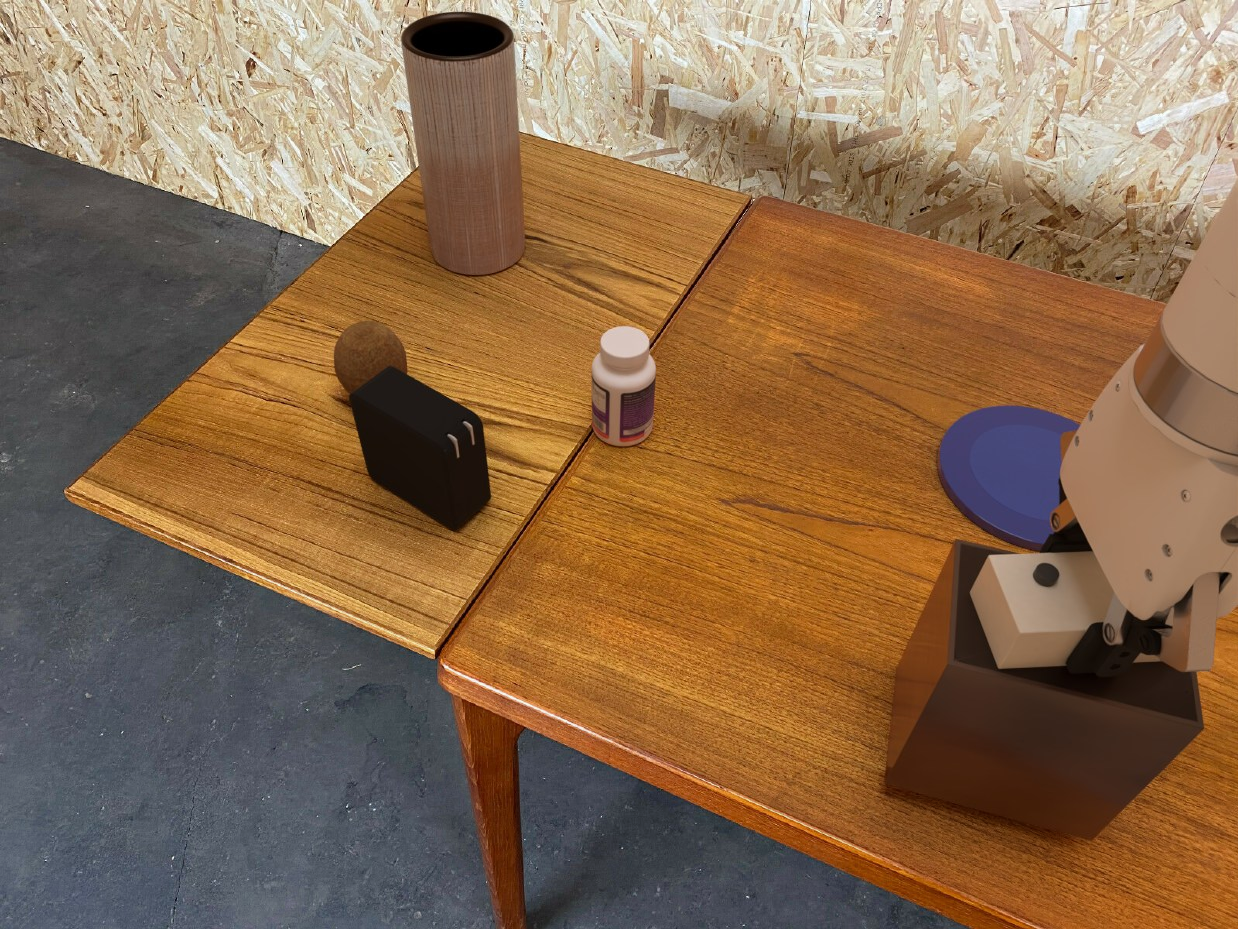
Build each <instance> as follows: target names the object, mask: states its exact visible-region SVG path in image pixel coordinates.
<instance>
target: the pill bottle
mask: <svg viewBox="0 0 1238 929" xmlns="http://www.w3.org/2000/svg"><path fill="white" fill-rule="evenodd" d="M590 374H591V380H590V381H591V426H592V430H593V432H594V434H595V435H596V437H597V438H598V439H600V440H601V441H602V442H604V443H606V444H609V445H611V446H614V447H615V446H616V447H630V446H635V445H637V444H639V443H642V442H643V441H645V440H646V439H647V438H648V437H649V436H650V434H651V433H652V430H653V427H654V416H655V414H654V413H655V396H656V395H655V394H656V381H657V380H656V378H657V366H656V362H655V360H654V358H653V356H652V355H651V353H650V339H649V337H648V335H647V334H646V333H645V332H644V331H643V330H642V329H639V328H637V327H633V326H629V325H623V326H622V325H621V326H615V327H612V328H610V329H607V330H606V331H605V332H603V334H602V335H601V338H600V344H599V352H598V353H597V354H596V355H595V357H594V358H593V361H592V363H591V373H590Z"/></svg>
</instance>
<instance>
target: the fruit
mask: <svg viewBox="0 0 1238 929" xmlns="http://www.w3.org/2000/svg"><path fill="white" fill-rule="evenodd" d="M407 359H408V358H407V352H406V349H405V345H403V343H402V341H401V339H400V338H399V337H398V335H396V333H395V332H394V331H393V330H392V329H391V328H390V327H388V326H387V325H384V324H382V323H380V322H378V321H373V320H363V321H358V322H355V323H352V324H350V325H349V326H348V327H346V328H345V329H344V330H343V331H342V332H341V333H340V336H339V337H338V338H337V340H336V342H335V345H334V348H333V367H334V368H333V369H334V373H335V375H336V376H335V377H336V378H337V380H338V382H339V383H340V385H341V386H342V387H343V389H344V390H345V391H346V392H347V394H349V395H350V394H351V393H352V392H354V391H355V390H356V389H358V388H359V387H360V386H362V385H363V384H365V383H366V382H367V381H369V380H370V379H371V378H373V377H374V376H375V375H377V374H378V373H380V372H381V371H382V370H384V369H385V368H386V367H388V366H393V367H395V368H397V369H398V370H400V371H402V372H404V373H406V374H407V375H408V360H407Z"/></svg>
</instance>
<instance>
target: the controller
mask: <svg viewBox="0 0 1238 929" xmlns="http://www.w3.org/2000/svg"><path fill="white" fill-rule="evenodd" d="M970 595H971V598H972V601H973V603H974V606H975V608H976V611H977V614H978V616H979V619H980V622H981V624H982V627H983V630H984V632H985V635H986V637H987V640H988V643H989V645H990V648H991V651H992V653H993V656H994V659H995V661H996V664H997V667H998V668H999V669H1006V668H1028V667H1049V666H1066V664H1065V663H1066V661H1067V659H1068V657H1069V656H1070V654H1071V653H1072V652H1073V650H1074V649H1075V647H1076V646H1077V644H1078V643H1079V642H1080V640H1081V639H1082V637H1083V636H1084V634H1085V633H1086V632H1087V629H1088V628H1089V626H1090V625H1091V624H1093V623H1096V622H1104V621H1105V618H1106V615H1107V612H1108V609H1109V606H1110V603H1111V600H1112V597H1113V595H1114V590H1113V589H1112V587H1111V585H1110V583H1109V581H1108V579H1107V577H1106V575H1105V573H1104V572H1103V570H1102V568H1101V566H1100V564H1099V562H1098V560H1097V558H1096V556H1095V554H1094V552H1093V551H1088V552H1062V553H1039V552H1034V553H1033V552H1032V553H1031V552H1030V553H1021V554H1004V555H989V556H988V557H987V559H986V561H985V563H984V565H983V567H982V569H981V571H980V573H979V575H978V577H977V579H976V581H975V583H974V585H973V587H972V589H971V591H970ZM1134 617H1136V616H1134ZM1156 661H1161V660H1160V658H1158V657H1157V656H1155V655H1145V654H1142V653H1140V654H1139V656H1138V657H1137V658H1136V659H1135V661H1134V662H1133V663H1135V662H1156Z"/></svg>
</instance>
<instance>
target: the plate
mask: <svg viewBox="0 0 1238 929" xmlns="http://www.w3.org/2000/svg"><path fill="white" fill-rule="evenodd" d="M1080 425H1081V423H1078V422H1076V421H1074V420H1072V419H1070V418H1068V417H1065V416H1063V415H1061V414H1057V413H1055V412H1052V411H1048V410H1045V409H1040V408H1036V407H1030V406H1023V405H1014V404H1013V405H1010V404H1009V405H995V406H987V407H983V408H979V409H976V410H973V411H970V412H968V413H966V414H964V415H963V416H961V417H959V418H958V419H957V420H956V421H954V422H953V423H952V424H951V425H950V426H949V427H948V428H947V430H946V432H945V433H944V434H943V436H942V439H941V441H940V444H939V447H938V450H937V455H936V468H937V473H938V478H939V480H940V482H941V486H942V487H943V489H944V491H945V493H946V495H947V497H949V499H950V500H951V502H952V503H953V504H954V505H955V507H956V508H957V509H958V510H959V512H961V513H962V514H963V515H964V516H966V518H967V519H969V520H970V521H971V522H972V523H974V524H975V525H976V526H977V527H979V528H981V529H982V530H983V531H985V532H987V533H988V534H990V535H992V536H994V537H995V538H998V539H1000V540H1002V541H1004V542H1006V543H1009V544H1012V545H1015V546H1017V547H1020V548H1023V549H1028V550H1031V551H1036V552H1040V550H1041V548H1042V547H1043V545H1044V543H1045V541H1046V540H1047V538H1048V536H1049V534H1053V533H1054V531H1053V530H1052V528H1051V526H1050V515H1051V513H1052V511H1053V510H1054V509H1056V508H1057V507H1058V506H1059V484H1058V480H1059V478H1060V468H1061V465H1062V461H1061V446H1060V439H1061V435H1062V434H1063V433H1064V432H1069V431H1075V430H1078V428H1079V427H1080Z"/></svg>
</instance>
